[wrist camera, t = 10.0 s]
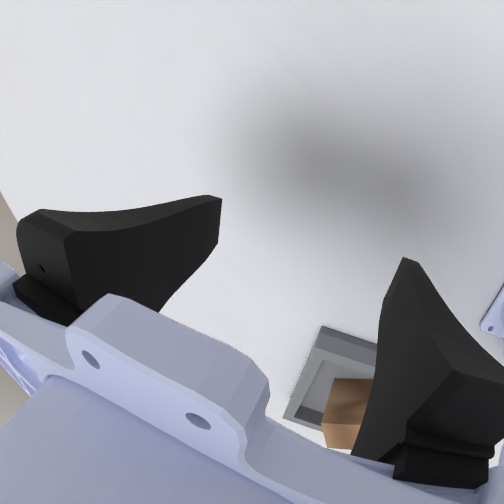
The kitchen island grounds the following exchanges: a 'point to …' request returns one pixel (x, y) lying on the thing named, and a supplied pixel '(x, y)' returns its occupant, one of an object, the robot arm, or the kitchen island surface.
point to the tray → (328, 374)
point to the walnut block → (345, 411)
